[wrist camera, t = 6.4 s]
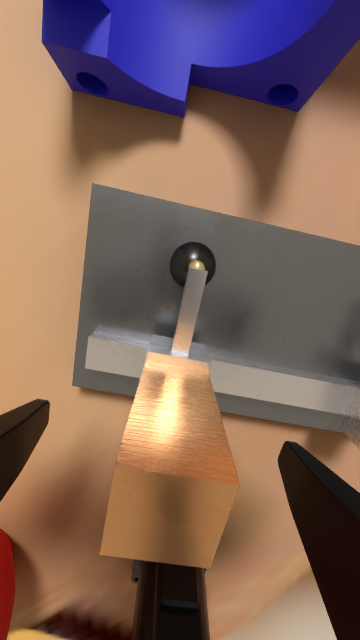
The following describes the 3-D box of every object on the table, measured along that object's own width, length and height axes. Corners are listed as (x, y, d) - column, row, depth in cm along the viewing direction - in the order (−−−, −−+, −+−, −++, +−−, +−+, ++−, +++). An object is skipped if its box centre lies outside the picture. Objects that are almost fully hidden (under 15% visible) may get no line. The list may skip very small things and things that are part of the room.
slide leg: (189, 397, 15) (205, 580, 6) (142, 388, 15) (97, 567, 6) (222, 266, 13) (311, 285, 4) (168, 254, 12) (151, 250, 4)
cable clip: (73, 91, 12) (-19, -54, 7) (80, -21, 11) (-23, -318, 5) (288, 144, 13) (376, 56, 7) (315, 44, 12) (446, -155, 6)
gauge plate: (366, 425, 18) (434, 485, 13) (81, 374, 16) (43, 421, 12) (444, 270, 15) (568, 277, 10) (101, 190, 13) (60, 155, 9)
